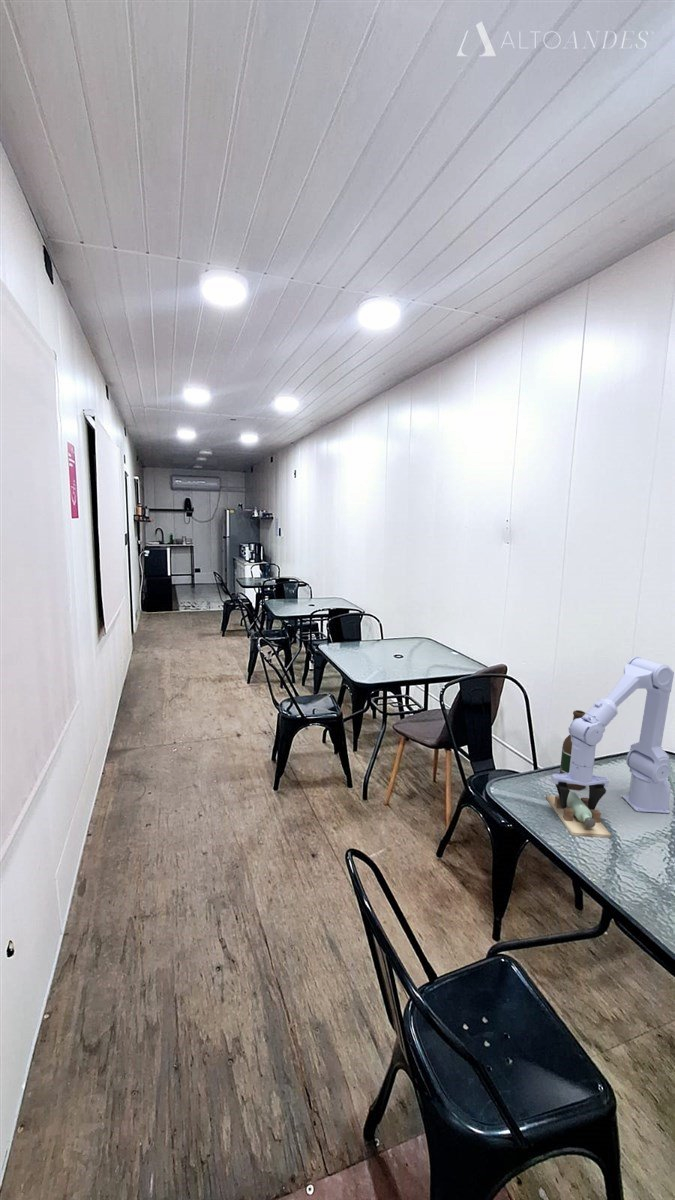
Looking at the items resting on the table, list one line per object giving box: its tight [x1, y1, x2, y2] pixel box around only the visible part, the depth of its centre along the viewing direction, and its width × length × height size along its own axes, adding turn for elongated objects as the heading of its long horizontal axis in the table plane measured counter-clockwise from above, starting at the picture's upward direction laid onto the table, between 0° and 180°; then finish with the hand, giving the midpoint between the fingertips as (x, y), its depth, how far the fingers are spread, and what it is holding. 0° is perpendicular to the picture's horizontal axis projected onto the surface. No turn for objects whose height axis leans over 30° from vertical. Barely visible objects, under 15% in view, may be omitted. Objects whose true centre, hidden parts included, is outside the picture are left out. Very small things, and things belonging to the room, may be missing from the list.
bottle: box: [567, 790, 595, 828], centre depth 132 cm, size 4×12×4 cm, turn 177°
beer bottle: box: [559, 709, 587, 791], centre depth 150 cm, size 8×8×24 cm
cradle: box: [545, 794, 612, 839], centre depth 134 cm, size 10×18×4 cm, turn 177°
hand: (577, 808), depth 133 cm, fingers open, 7 cm apart
